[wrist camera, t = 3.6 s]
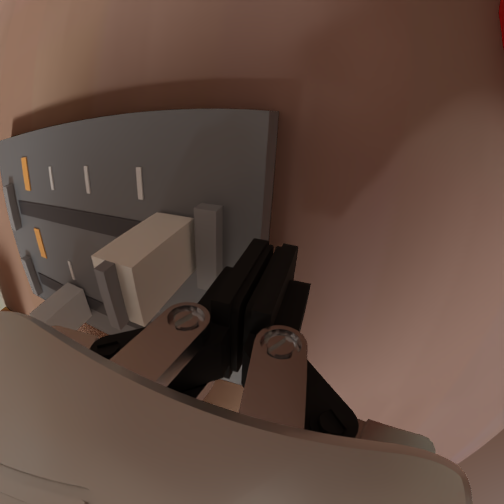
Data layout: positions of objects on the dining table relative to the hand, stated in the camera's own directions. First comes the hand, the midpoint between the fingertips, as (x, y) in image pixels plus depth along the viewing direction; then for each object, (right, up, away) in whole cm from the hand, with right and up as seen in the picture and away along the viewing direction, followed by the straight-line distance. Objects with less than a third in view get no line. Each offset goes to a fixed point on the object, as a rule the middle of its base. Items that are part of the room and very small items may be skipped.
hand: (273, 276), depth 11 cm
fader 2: (-4, +1, +2) cm, 5 cm away
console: (-12, +2, +6) cm, 13 cm away
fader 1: (-14, -3, +8) cm, 16 cm away
